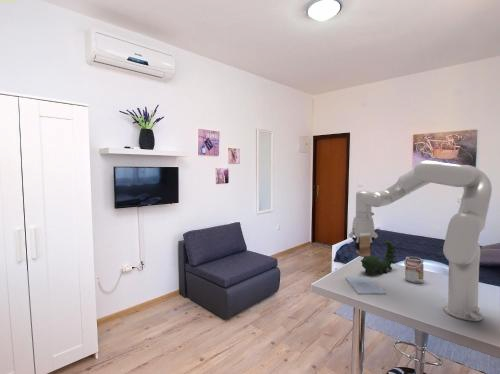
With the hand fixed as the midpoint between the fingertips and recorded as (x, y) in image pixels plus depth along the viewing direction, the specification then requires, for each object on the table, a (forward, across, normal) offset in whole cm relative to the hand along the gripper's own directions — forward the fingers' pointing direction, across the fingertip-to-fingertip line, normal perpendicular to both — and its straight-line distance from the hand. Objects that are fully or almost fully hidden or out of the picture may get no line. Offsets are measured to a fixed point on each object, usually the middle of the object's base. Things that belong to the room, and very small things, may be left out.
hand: (363, 249), depth 140 cm
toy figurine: (+18, -14, -15) cm, 28 cm away
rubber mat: (+18, 0, +3) cm, 18 cm away
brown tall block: (+3, 0, 0) cm, 3 cm away
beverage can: (+18, -28, -2) cm, 33 cm away
